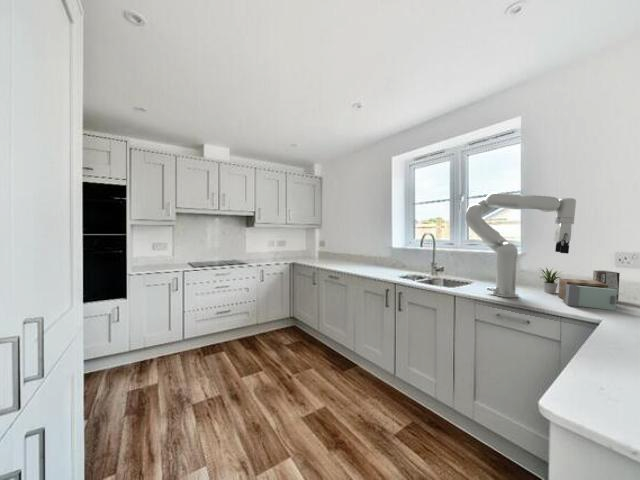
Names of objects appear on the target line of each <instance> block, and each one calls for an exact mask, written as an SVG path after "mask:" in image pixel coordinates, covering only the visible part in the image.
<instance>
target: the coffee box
mask: <svg viewBox="0 0 640 480" xmlns="http://www.w3.org/2000/svg"><path fill="white" fill-rule="evenodd" d="M592 272H593V274H592V281H599V282H602V283H604V284H607V285H608V289H615V290H617V297H616V303H619V295H620V293H619V292H620V272H616V271H609V270H592Z"/></svg>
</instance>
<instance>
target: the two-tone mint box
mask: <svg viewBox="0 0 640 480" xmlns="http://www.w3.org/2000/svg"><path fill="white" fill-rule="evenodd" d="M616 297H617V290H615V289H607V288H596V287H586V286H577V285H568V284H567V285H566V298H565V303H566V304H565V303H564V304H565V305H567V306H568V305H571V306H570V307H572V306H578V307H584V308H592V309H599V310H609V311H616V305H617V302H616Z"/></svg>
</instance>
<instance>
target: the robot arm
mask: <svg viewBox="0 0 640 480" xmlns="http://www.w3.org/2000/svg"><path fill="white" fill-rule="evenodd" d="M576 205H577V201H576V199H575V198H573V197H572V198H571V197H565V198H564V197H563V198H557V197H555V196H550V195H549V196H547V195H534V194H533V195H532V194H514V193H502V192H491V193H489V194H488V195H486V197H484V198H483V199H481V200H479V201H477V202H476V203H472V204H470V205H469V206H468V207H467V209H466V213H465V220H466V224H467V226H468V227H469V228H470V230H471V231H473V232H474V233H475V234H476V235H477V236H478V237H479V238H480V239H481V240H482V242H483V243H484V244H485V245H486V246H487V247H489V248H490V249H491V250H492V251H493V252H494V253H496V256H497V257H496V276H495V278H496V279H495V280H496V282H495V286H494V287H490V286H486V290H487V291H490V292H492V294H493V295H494V296H498V297H502V298H510V299H511V298H512V299H513V298H514V299H515V298H517V299H518V298H519V297H520V295H519V294H518V293H516V292H517V291H516V288H517V262H518V260H517V259H518V253H519V251H518V248H517V246H516V245H515V244H514V243H512V242H510V241H508V240H507V239H506V238H504V237H503V236H502V235H501V234H500V232H499V231H497V230H496V229H495V228H494V227H492V226H491V225H490V224H489V223H487V222H486V221H485V220H484V219H483V217H482V216H483V215H485V214H486V213H489V212H490V211H492V210H493V209H495V208H500V209H507V210H508V209H509V210H510V209H511V210H540V211H541V212H543V213H552V212H555V213H556V214H555V221H554V223H555V224H556V226H555V232H554V239H553V241H554V242H556V243H555V250H554V252H555V253H556V252H557V253H560V254H569V251H570V250H569V249H570V242H571V239H572V228H573V227H572V225H574V224H575V218H576V217H575V214H576Z"/></svg>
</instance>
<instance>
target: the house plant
mask: <svg viewBox="0 0 640 480" xmlns="http://www.w3.org/2000/svg"><path fill="white" fill-rule="evenodd" d="M545 270H546V271H545ZM545 270H544V269H543V268H541V267H540V268H539V269H538V270H537V271H539V272H540V273H542V276H540V275H537V276H539V279H543V280H544V281H542V284H543V290H544V291H543V292H544V293H548V294H556V291H557V288H558V285H559V282H557V281H559V278H561V276H557V275H560V273H561V272H563V270H562V271H560V272H559V271H558V270H556V271H554V272H553V273H552V271H553V270H554V267H552V269H550V271H549V269H548V268H547V267H545Z"/></svg>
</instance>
